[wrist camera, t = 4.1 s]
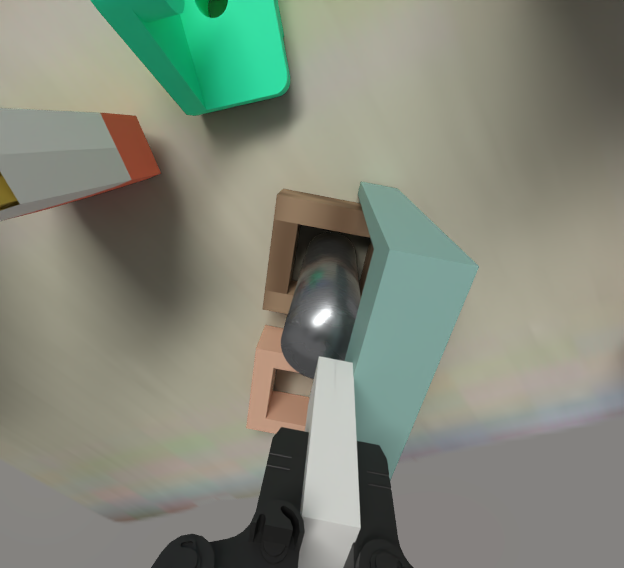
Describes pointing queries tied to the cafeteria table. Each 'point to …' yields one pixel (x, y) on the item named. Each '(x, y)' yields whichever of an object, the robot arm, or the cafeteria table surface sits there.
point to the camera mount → (206, 49)
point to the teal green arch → (402, 316)
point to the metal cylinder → (322, 304)
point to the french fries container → (67, 157)
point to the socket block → (285, 234)
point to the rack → (263, 400)
